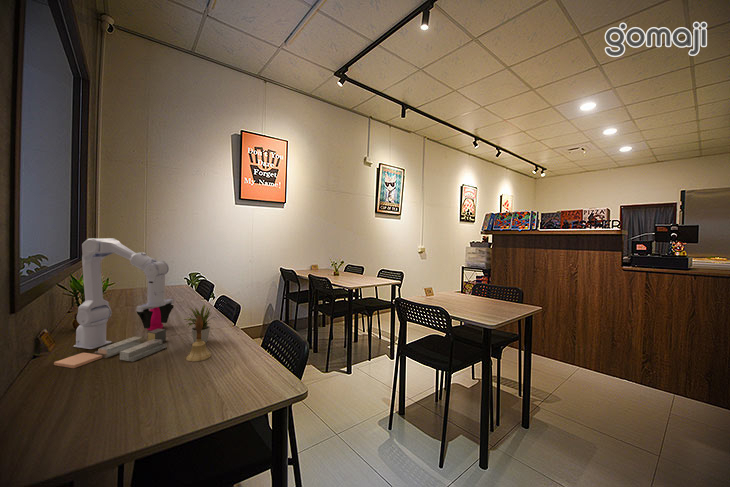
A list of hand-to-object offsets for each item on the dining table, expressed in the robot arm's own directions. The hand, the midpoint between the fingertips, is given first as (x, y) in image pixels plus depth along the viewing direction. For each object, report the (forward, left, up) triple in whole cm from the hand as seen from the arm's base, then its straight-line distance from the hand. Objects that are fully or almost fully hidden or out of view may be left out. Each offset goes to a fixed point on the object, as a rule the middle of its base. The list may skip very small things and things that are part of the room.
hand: (155, 325), depth 120 cm
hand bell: (+22, -2, -10) cm, 24 cm away
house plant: (+10, +12, -10) cm, 19 cm away
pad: (-15, -17, -10) cm, 25 cm away
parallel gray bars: (-6, -5, -10) cm, 12 cm away
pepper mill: (-22, +20, -10) cm, 32 cm away
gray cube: (-6, +6, -10) cm, 13 cm away
